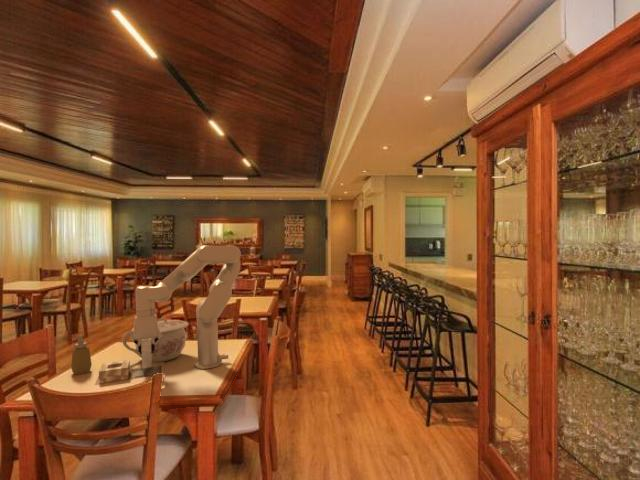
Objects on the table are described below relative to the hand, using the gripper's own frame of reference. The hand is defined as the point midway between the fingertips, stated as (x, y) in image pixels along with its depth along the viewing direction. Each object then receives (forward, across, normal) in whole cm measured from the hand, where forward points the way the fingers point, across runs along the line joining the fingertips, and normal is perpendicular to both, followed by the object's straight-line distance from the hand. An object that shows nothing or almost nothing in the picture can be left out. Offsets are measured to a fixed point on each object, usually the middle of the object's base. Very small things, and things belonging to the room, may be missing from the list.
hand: (146, 352), depth 173 cm
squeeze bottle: (+10, +28, -14) cm, 33 cm away
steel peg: (+6, 0, 0) cm, 6 cm away
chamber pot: (+10, -6, -22) cm, 25 cm away
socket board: (+10, +7, 0) cm, 12 cm away
